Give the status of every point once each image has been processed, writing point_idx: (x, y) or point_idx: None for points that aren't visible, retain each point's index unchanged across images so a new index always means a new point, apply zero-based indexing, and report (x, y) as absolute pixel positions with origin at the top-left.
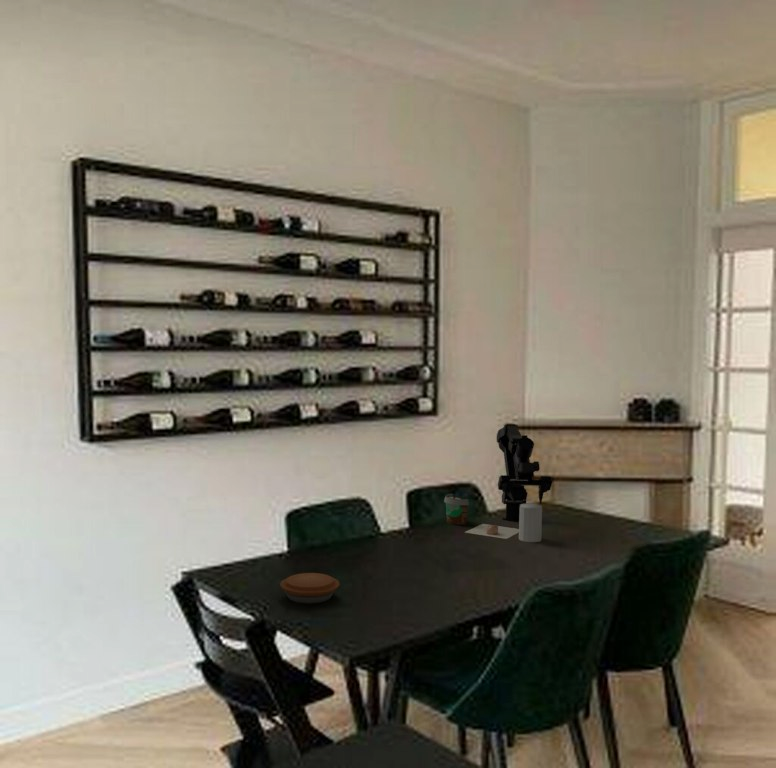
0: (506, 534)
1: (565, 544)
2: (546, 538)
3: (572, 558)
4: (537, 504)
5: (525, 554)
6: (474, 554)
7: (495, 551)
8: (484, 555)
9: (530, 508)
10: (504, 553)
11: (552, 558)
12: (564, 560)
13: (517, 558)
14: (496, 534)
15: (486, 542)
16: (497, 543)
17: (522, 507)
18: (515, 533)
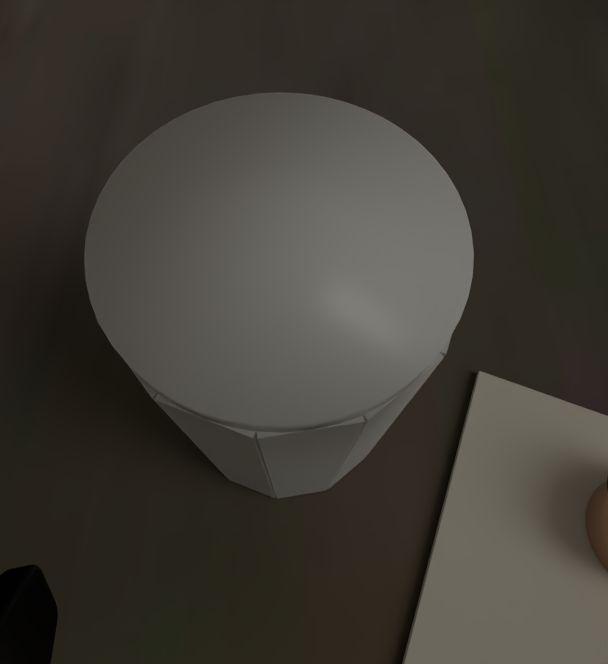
0: (506, 530)
1: (11, 337)
2: (135, 505)
3: (56, 51)
4: (146, 361)
5: (318, 70)
6: (589, 27)
7: (493, 91)
8: (534, 21)
9: (291, 99)
10: (437, 67)
11: (171, 34)
12: (111, 16)
13: (359, 6)
14: (593, 493)
15: (601, 264)
16: (521, 255)
17: (414, 151)
18: (428, 600)
